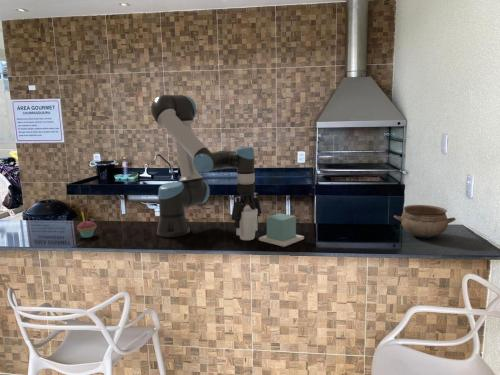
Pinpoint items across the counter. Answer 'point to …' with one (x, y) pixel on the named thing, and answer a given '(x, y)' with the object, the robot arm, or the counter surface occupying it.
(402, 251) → the counter surface
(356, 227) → the counter surface
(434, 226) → the cooking pot
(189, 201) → the robot arm
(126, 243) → the counter surface
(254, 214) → the foam cup
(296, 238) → the mat
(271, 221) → the block
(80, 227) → the cupcake
